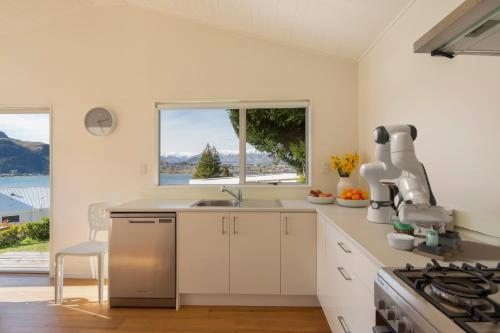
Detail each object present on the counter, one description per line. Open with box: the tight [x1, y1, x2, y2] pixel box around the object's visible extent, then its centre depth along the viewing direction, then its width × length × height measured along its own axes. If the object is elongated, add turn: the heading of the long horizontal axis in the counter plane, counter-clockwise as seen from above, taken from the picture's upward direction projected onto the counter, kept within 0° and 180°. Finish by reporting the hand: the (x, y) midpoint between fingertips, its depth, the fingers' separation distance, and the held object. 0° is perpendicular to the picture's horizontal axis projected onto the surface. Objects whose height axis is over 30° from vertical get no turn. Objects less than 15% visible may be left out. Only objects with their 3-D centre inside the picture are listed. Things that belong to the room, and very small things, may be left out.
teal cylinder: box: [425, 228, 438, 248], centre depth 108 cm, size 4×4×9 cm
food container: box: [392, 215, 415, 237], centre depth 138 cm, size 12×6×10 cm, turn 71°
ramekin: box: [386, 232, 416, 251], centre depth 118 cm, size 11×11×5 cm
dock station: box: [412, 229, 465, 262], centre depth 112 cm, size 23×11×8 cm, turn 123°
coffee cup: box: [431, 216, 455, 231], centre depth 129 cm, size 9×9×12 cm
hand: (430, 232), depth 109 cm, fingers open, 8 cm apart
